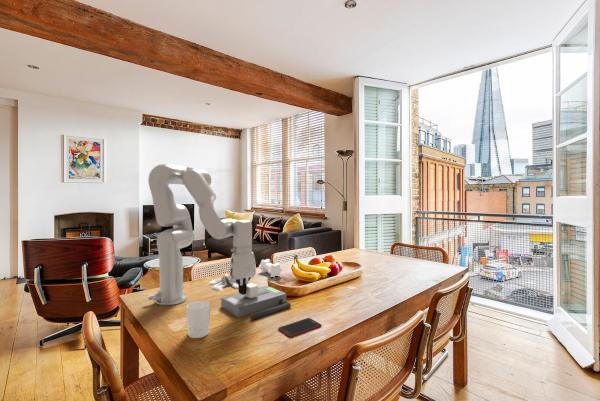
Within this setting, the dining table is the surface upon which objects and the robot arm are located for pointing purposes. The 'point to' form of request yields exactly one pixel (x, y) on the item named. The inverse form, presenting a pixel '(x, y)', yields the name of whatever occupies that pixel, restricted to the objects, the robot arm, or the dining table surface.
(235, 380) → the dining table surface
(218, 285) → the cloth
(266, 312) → the dark grey flat bar
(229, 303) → the box
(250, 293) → the white cube
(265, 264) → the bone shaped toy
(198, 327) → the white cup
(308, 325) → the cell phone
